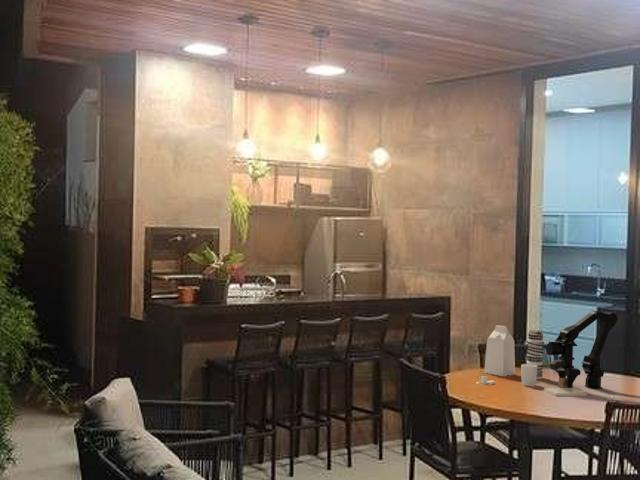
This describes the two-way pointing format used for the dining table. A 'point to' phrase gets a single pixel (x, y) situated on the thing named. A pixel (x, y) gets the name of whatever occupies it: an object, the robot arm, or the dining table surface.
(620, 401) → the dining table surface
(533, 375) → the white cup
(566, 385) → the walnut block
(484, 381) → the teacup and saucer
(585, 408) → the dining table surface
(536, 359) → the decorative candle
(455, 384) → the dining table surface
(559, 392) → the plate
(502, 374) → the milk
